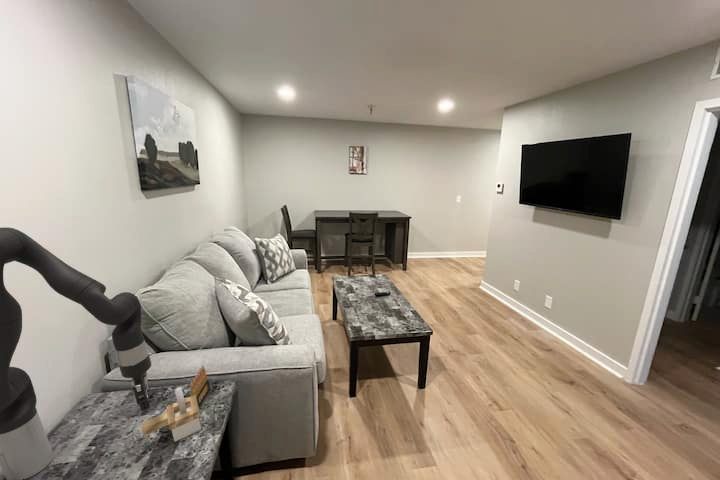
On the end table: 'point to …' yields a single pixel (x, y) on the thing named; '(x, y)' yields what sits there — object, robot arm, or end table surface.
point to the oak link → (173, 416)
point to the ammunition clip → (200, 386)
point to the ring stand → (188, 427)
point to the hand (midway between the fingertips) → (145, 400)
